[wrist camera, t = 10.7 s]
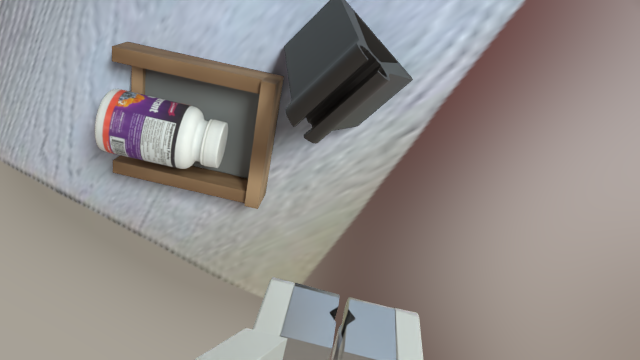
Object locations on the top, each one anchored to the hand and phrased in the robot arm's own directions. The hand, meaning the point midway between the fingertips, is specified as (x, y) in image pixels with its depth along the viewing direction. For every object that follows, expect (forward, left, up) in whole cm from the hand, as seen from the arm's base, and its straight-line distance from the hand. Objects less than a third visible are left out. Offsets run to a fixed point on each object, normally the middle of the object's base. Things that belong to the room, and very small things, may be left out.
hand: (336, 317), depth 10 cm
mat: (+9, -14, -31) cm, 35 cm away
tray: (+9, -14, -31) cm, 35 cm away
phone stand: (+1, -2, -31) cm, 31 cm away
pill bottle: (+9, -21, -27) cm, 35 cm away
